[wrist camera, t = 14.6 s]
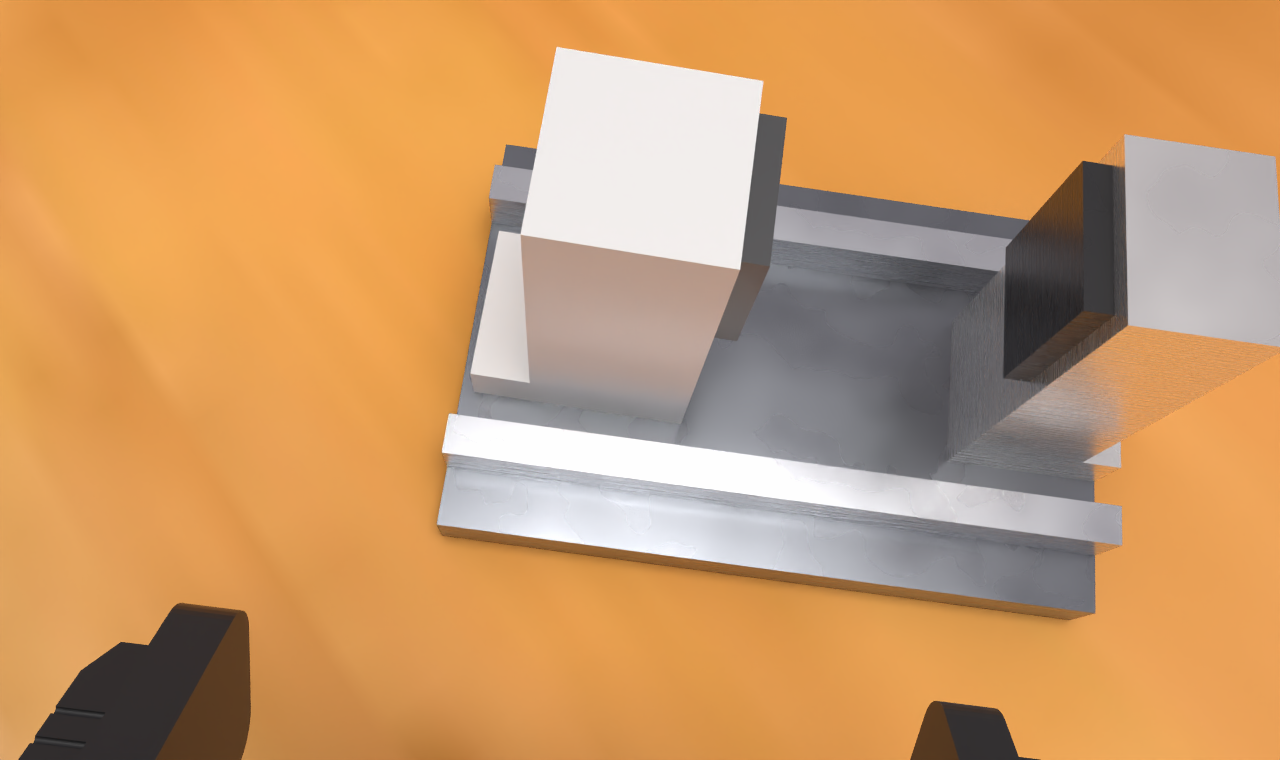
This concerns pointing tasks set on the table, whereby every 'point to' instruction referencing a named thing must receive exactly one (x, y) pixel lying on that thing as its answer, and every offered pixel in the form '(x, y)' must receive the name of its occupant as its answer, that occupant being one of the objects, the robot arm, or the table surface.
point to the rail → (906, 389)
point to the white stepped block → (632, 238)
